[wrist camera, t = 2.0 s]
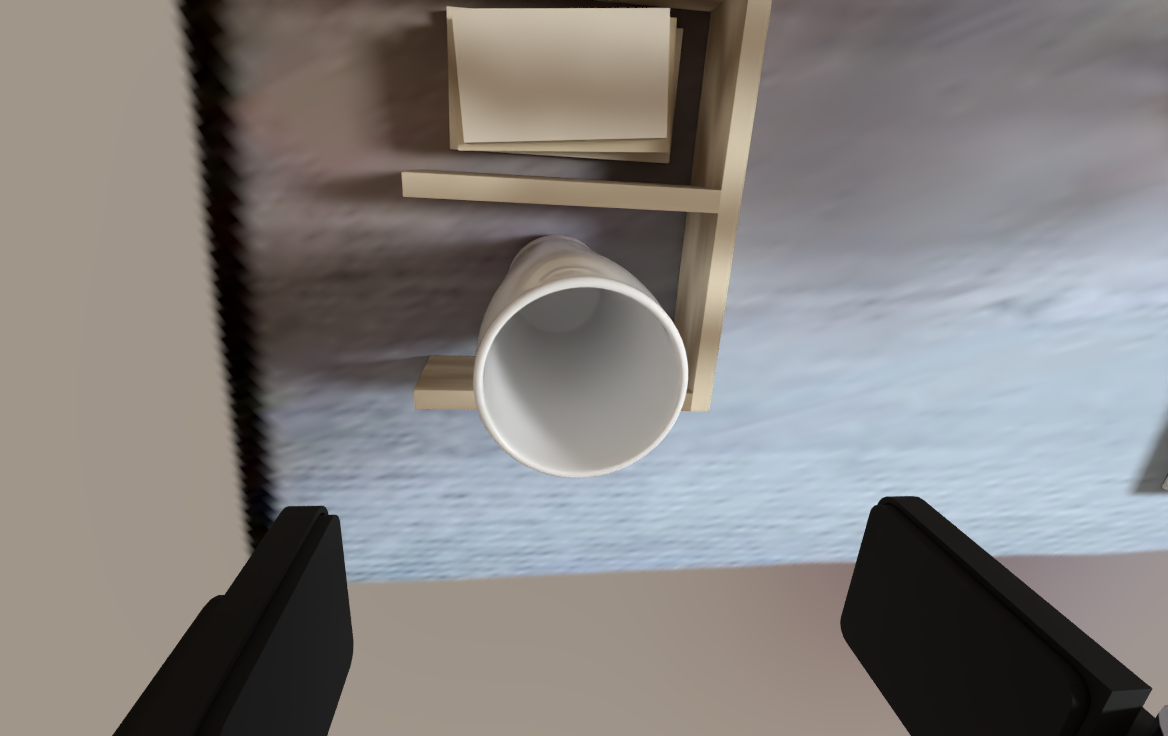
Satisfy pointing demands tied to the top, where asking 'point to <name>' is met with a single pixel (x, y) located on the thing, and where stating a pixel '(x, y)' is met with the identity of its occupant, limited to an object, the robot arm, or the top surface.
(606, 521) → the top surface
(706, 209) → the rack
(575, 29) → the offcut top
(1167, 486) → the charger tray
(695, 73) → the top surface
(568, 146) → the board
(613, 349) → the white vase
